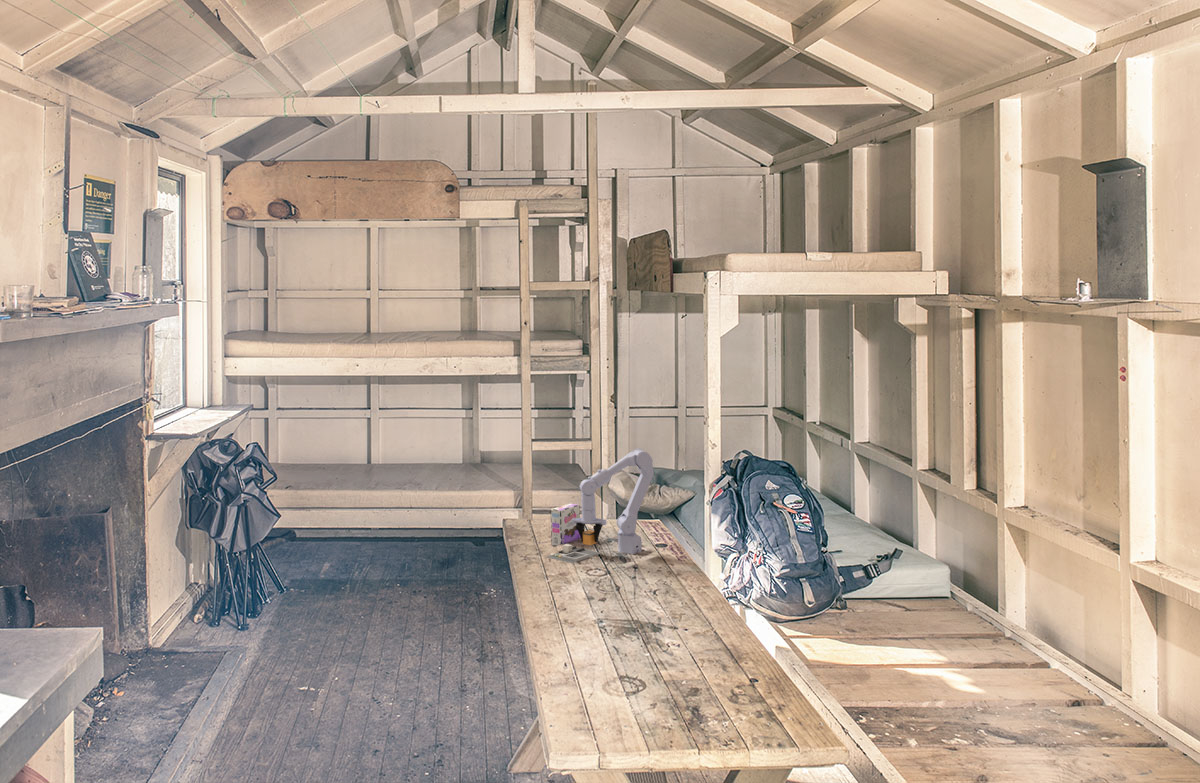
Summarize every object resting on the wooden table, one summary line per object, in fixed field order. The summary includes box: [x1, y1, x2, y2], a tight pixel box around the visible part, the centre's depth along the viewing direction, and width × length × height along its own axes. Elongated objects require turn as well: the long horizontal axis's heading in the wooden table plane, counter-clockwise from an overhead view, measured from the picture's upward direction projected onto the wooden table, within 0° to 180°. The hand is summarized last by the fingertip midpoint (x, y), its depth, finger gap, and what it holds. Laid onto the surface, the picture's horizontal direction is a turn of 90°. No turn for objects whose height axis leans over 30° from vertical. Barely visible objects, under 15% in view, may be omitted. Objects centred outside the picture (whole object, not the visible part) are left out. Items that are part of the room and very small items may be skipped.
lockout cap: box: [582, 529, 598, 546], centre depth 385 cm, size 4×4×5 cm
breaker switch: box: [562, 543, 573, 553], centre depth 388 cm, size 3×2×3 cm
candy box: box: [550, 503, 581, 547], centre depth 408 cm, size 14×6×16 cm, turn 143°
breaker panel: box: [545, 545, 603, 564], centre depth 384 cm, size 16×18×3 cm
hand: (589, 541), depth 385 cm, fingers closed on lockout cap, 5 cm apart
